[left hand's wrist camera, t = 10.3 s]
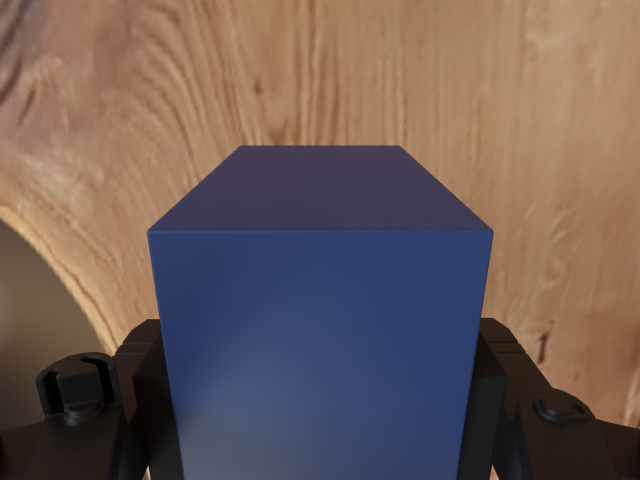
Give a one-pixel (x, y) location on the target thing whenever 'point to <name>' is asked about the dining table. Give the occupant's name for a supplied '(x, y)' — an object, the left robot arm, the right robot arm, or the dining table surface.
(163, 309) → the block
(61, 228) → the dining table surface
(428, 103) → the dining table surface
